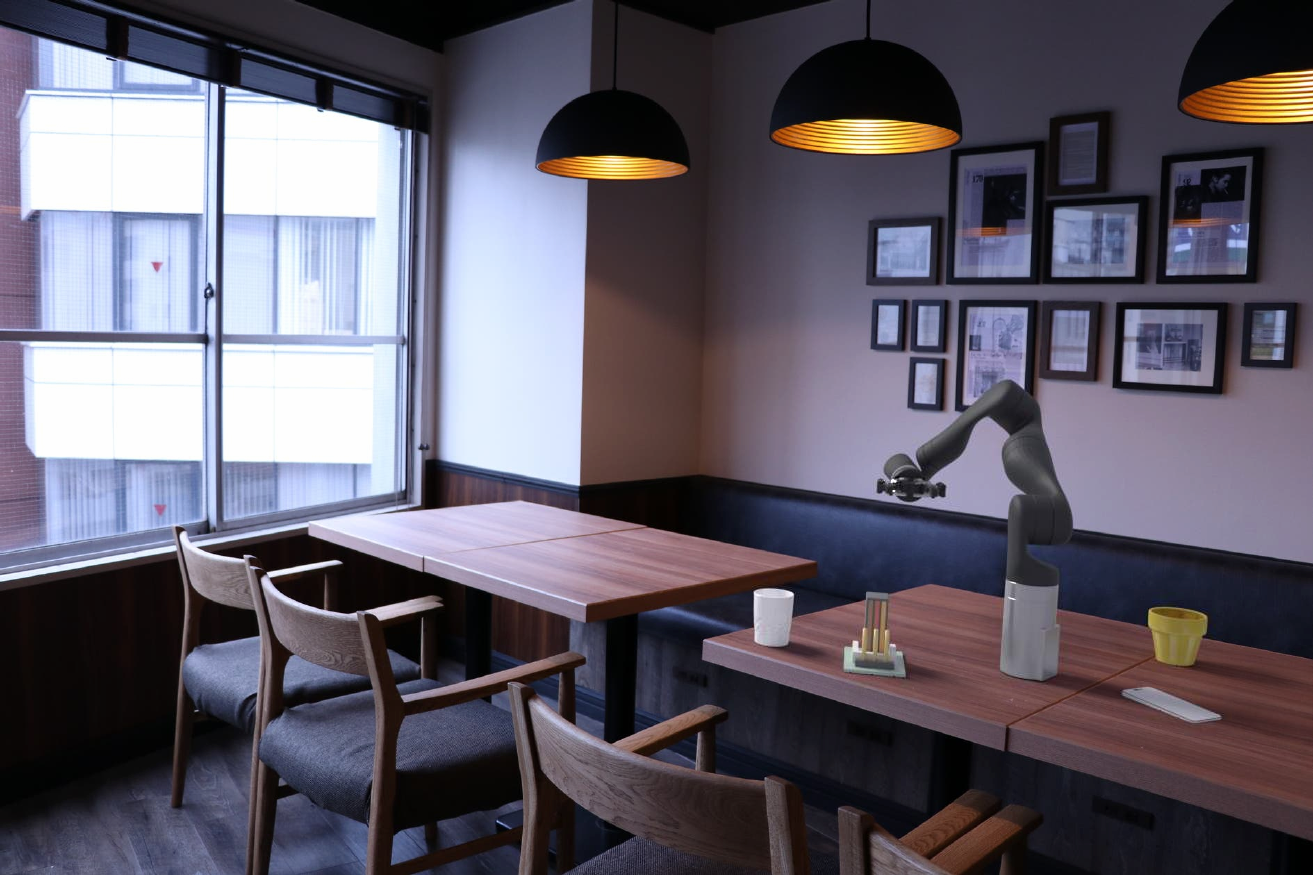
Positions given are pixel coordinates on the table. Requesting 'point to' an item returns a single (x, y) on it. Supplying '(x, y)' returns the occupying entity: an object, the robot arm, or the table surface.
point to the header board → (874, 658)
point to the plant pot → (1176, 634)
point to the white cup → (772, 616)
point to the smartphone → (1170, 704)
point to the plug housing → (876, 619)
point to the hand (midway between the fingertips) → (912, 492)
